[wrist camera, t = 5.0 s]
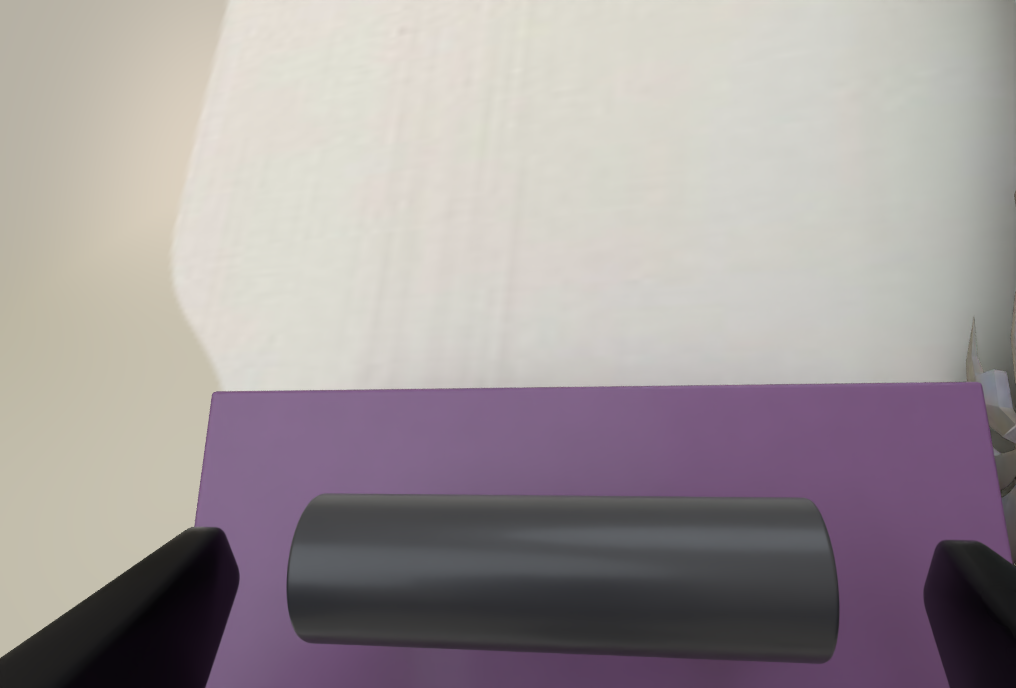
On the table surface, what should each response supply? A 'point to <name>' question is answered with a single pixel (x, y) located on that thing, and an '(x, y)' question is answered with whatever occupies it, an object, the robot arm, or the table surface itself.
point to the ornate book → (999, 421)
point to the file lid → (593, 533)
